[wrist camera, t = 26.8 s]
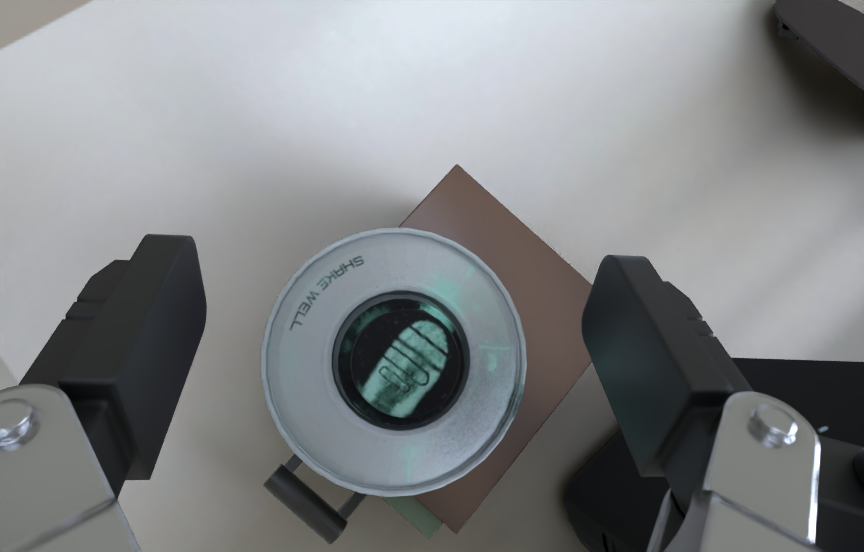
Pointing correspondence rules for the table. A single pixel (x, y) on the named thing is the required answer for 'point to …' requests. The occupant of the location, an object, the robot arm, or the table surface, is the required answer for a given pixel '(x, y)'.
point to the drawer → (334, 522)
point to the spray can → (393, 362)
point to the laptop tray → (827, 32)
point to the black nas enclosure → (642, 496)
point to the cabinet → (539, 313)
